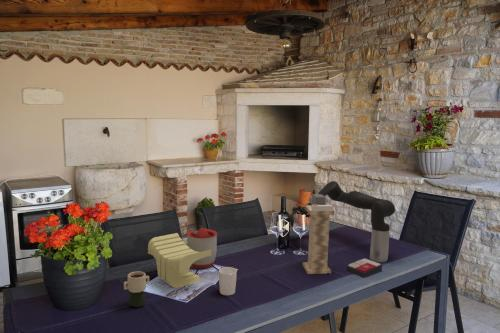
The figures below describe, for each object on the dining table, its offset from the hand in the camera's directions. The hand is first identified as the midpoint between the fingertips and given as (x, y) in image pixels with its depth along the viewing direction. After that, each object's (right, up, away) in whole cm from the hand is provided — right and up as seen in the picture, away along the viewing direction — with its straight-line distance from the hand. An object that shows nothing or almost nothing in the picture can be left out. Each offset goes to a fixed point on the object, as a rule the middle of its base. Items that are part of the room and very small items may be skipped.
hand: (307, 207), depth 225 cm
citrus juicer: (-57, -29, -14) cm, 66 cm away
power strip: (+3, +1, -26) cm, 26 cm away
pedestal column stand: (+2, -30, -17) cm, 34 cm away
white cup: (-42, -33, -45) cm, 70 cm away
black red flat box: (+26, -32, -17) cm, 44 cm away
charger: (+2, +2, -15) cm, 15 cm away
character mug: (-78, -34, -59) cm, 104 cm away
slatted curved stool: (-66, -31, -35) cm, 80 cm away
